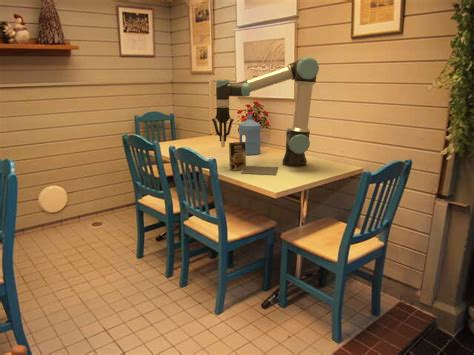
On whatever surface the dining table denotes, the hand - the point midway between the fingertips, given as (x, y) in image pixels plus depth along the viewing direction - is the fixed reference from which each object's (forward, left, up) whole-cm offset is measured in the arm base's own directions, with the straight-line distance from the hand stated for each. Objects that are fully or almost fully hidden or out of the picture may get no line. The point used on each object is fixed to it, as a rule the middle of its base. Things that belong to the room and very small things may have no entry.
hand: (223, 146), depth 227 cm
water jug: (-9, -48, -14) cm, 51 cm away
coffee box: (-9, 0, -14) cm, 16 cm away
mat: (-23, 0, -14) cm, 26 cm away
